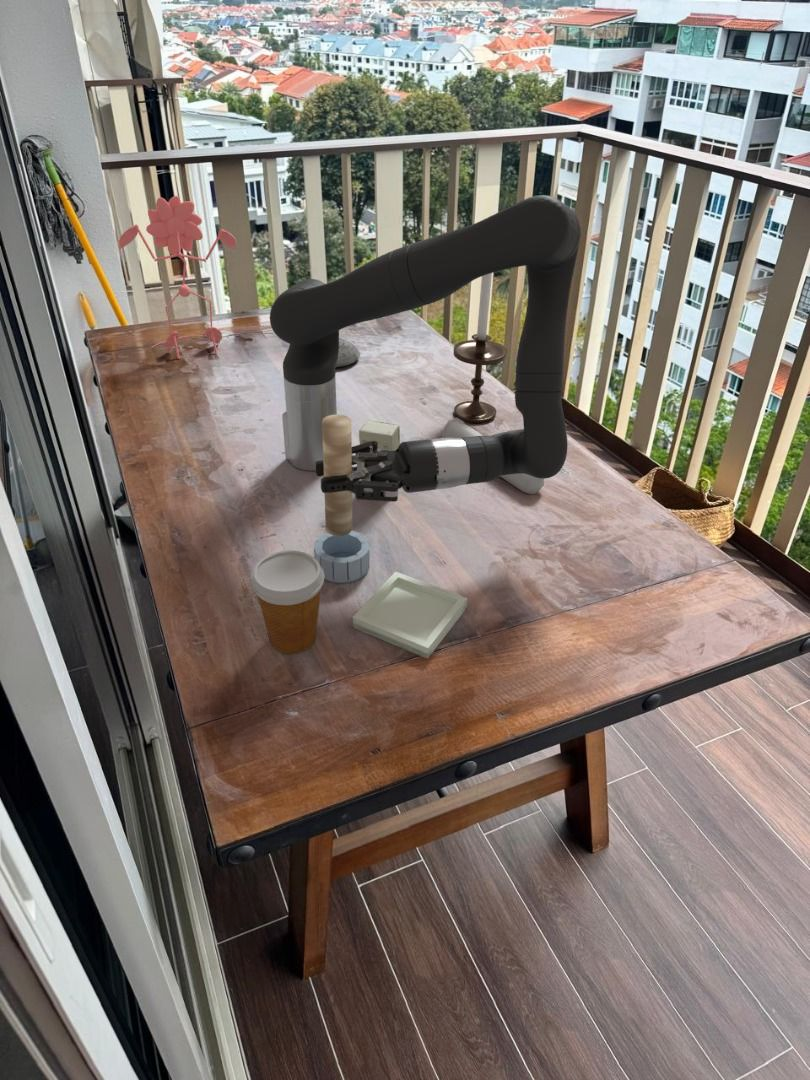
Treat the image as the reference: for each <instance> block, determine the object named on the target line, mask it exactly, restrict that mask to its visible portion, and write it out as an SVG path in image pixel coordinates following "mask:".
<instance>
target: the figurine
mask: <svg viewBox="0 0 810 1080" xmlns="http://www.w3.org/2000/svg"><path fill="white" fill-rule="evenodd" d="M155 208H156V209H149V210H148V211H147V217H148V218H149V220H150V221H151V223H150V224H148V225H147V226H146V232H147V233H148V234H149V235H150V236H153V237H154V238H155V239H154V246H155V247H157V248H158V249H159V248H166V247H167V251H168V252H169V254H170V255H165V256H161V257H155V255H154V253H153V251H152V249H151V247H150V246H149V244H148V242H147V240H146V238H145V237H144V235H143V233H142V231H141V230H140V228H139V227H140V226H139V225H138V224H134V225H132V226H130V227H129V228H128V229H127V230H125V231H124V232H123V233H121V236H120V237H119V240H118V248H119V250H122V249H123V248H124V247H126V246H127V245H129V244H131V243H132V241H134V240H135V238H136V237H137V236H138V235H139V236H140V238H141V240H142V242H143V244H144V245H145V248H146V249H147V251H148V252H149V254H150V256H151V258H152V260H154V262H159V261H163V260H168V259H171V258H176V257H177V258H180V259H181V261H182V262H183V270H182V271H183V272H182V273H183V274H182V284H181V285H180V286H179V287H178V293H177V294H175V296H174V297H173V298H172V299H171V301H170V302H169V303H168V304H166V306H165V313H166V316H167V319H168V320H167V321H168V324H169V328H170V331H171V332H170V333H169V335H168V336H167V338H166V339H165V340H161V341H159V342H158V343H157V344H154V345H153V346H151V348H154V347H156V346H157V345H159V344H161V343H164V348H165V350H166V351H167V352H168V353H169V352H170V351H171V350H172V349H173V348H174V349H175V352H176V356H177V357H176V358H177V360H178V359H181V356H180V353H179V348H178V344H177V342H178V341H179V339H181V338H182V335H181V336H180V335H179V332H178V331H176V330H175V331H173V326H172V323H171V318H170V315H169V311H168V307H169V306H170V305H171V304H172V303H173V302H174V301H175V300H176V298H177V297H179V295H180V296H181V297H183V298H186V297H188V296H190V295H191V294H192V295H195V296H197V297H198V298H201V299H203V300H206V301H208V302H209V315H210V316H209V320H210V327H207V328H206V329H205V334H203V335H202V334H198V335H196V334H195V335H193V337H199V336H200V337H201V336H203V337H206V338H207V339H208V340H209V341H210V342H212V343H213V345H212V346H213V349H214V353H215V354H216V355H217V354H218V350H217V349H218V348H217V346H216V345H219V344H220V343H221V341H222V339H223V333H222V331H221V330H220V329H218V328H217V327H215V326H213V317H212V316H213V315H212V313H213V311H212V301H211V299H209V298H207V297H204V296H202V295H200V294H197V292H193V291H191V289H190V287H189V286H188V285H186V284H185V283H186V282H185V280H186V272H187V261H186V260H185V258H187V259H192V260H197V261H201V262H204V263H207V261H208V259H209V257H210V256H211V254H212V253H213V250H214V249H215V247H216V245H217V244H218V242H219V241H221V243H222V244H224V245H225V246H227V247H229V248H230V249H233V250H234V249H235V248H236V246H237V239H236V237H235V236H234V235H233V234H232V233H230V232H229V231H227V230H224V228H221V229H220V230H219V231H217V237H216V239H215V241H214V242H213V244H212V245H211V247H210V249H209V251H208V253H207V255H206V256H205V258H202V257H199V256H198V257H197V256H193V255H187V254H183V253H182V251H181V250H183V251H185V252H188V253H189V252H191V251H192V250H193V247H194V246H193V245H194V241H201V240H202V239H203V232H202V230H201V229H200V227H199V226H200V225H201V224H202V223H203V220H202V218H201V217H200V216H199V215H198V214H197V213H193V212H194V210H195V204H194V202H192V201H189V200H188V201H186V200H185V201H182V202H181V198H180V196H178V195H175V196H172V197H170V199H169V200H168V201H167V200H166V199H165V198H163V197H158V198H157V199H156V203H155ZM188 337H190V335H183V338H188Z"/></svg>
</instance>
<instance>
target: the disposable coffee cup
mask: <svg viewBox="0 0 810 1080" xmlns="http://www.w3.org/2000/svg"><path fill="white" fill-rule="evenodd" d="M324 578H325V575H324V571H323V569H322V568H321V566H320V565H319V563H318V561H317V560H316V559H315V558H314V555H311V554H309V553H306V552H304V551H300V550H281V551H277V552H274V553H273V552H272V553H271V554H269V555H267V556H265V557H263V558H262V559H260V560H259V561H258V562H257V564H256V565H255V567H254V569H253V572H252V574H251V578H250V584H251V587H252V590H253V592H254V593H255V594H256V597H257V599H258V602H259V605H260V609H261V613H262V616H263V620H264V623H265V626H266V630H267V634H268V637H269V641H270V646H272V648H274V650H276V651H278V652H280V653H283V654H291V655H292V654H299V653H302V652H305V651H307V650H308V649H310V648H311V647H312V646H313V645H314V644H315V642H316V638H317V631H318V630H317V628H318V619H319V610H320V609H319V608H320V599H321V590H322V587H323V585H324V582H325V580H324Z"/></svg>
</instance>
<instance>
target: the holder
mask: <svg viewBox="0 0 810 1080" xmlns="http://www.w3.org/2000/svg"><path fill="white" fill-rule="evenodd" d="M370 547H371V546H370V541H369V539H368V538H367V537H366V536H365V535H364V534H362V533H360V532H358V531H354V530H352V531H351V532H350V533H349V534H347V535H344V536H334V535H331V534H329V533H328V532H325V533H323V534H321V535H320V536H319V537H318V538H317V539H316V540H315V541H314V547H313V557H314V558H315V559H316V560H317V561H318V563H319V565H320V566H321V568H322V569H323V571H324V575H325V578H324V581H327V582H330V583H334V584H349V583H354V582H357V581H359V580H361V579H362V578H364V577H365V576H366V575H367V574H368V572H369V570H370V556H371V555H370V551H371V549H370Z"/></svg>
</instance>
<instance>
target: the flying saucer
mask: <svg viewBox="0 0 810 1080" xmlns="http://www.w3.org/2000/svg"><path fill="white" fill-rule="evenodd" d="M360 357H361V352H360V350H359V349H358V347H357V346H356V345H354V344H353V342H351V341H348V340H347V339H344V338H340V337H339V354H338V359H337V362H336V366H335V368H340V367H345V366H348V365H351V364H353V363H355V362H356V361H358V360H359V359H360Z"/></svg>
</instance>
